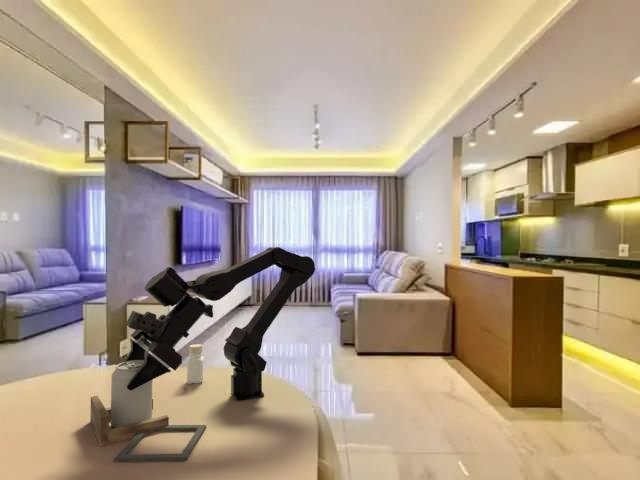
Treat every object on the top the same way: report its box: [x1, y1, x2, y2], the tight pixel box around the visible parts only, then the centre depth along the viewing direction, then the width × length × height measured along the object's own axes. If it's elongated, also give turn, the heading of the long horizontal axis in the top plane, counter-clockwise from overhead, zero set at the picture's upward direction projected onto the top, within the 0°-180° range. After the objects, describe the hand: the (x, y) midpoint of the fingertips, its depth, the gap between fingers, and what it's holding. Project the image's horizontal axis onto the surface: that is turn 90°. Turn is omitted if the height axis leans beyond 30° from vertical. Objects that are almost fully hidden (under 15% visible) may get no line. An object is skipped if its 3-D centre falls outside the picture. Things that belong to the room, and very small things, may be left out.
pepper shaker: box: [186, 343, 205, 385], centre depth 103 cm, size 4×4×10 cm
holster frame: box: [113, 424, 207, 463], centre depth 70 cm, size 12×12×1 cm
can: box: [110, 360, 154, 428], centre depth 78 cm, size 8×8×12 cm
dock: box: [90, 395, 170, 447], centre depth 78 cm, size 12×12×5 cm
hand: (123, 382), depth 77 cm, fingers open, 9 cm apart
